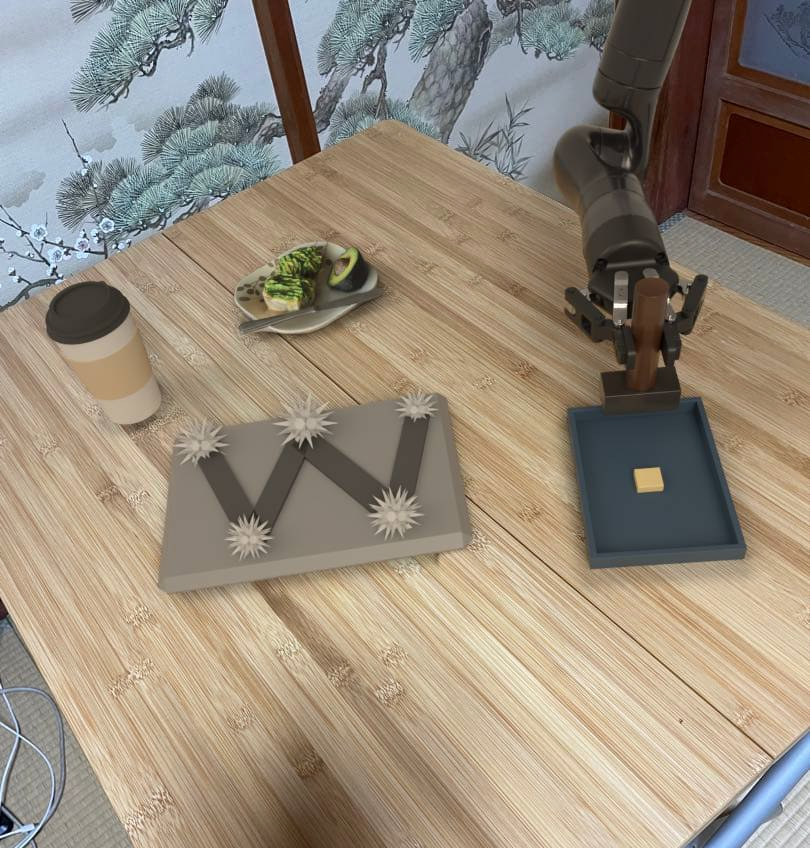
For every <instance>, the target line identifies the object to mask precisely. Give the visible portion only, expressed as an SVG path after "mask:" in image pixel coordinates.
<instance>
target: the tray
mask: <svg viewBox="0 0 810 848" xmlns="http://www.w3.org/2000/svg"><path fill="white" fill-rule="evenodd" d="M566 421H567V429H568V434H569V440H570V446H571V447H570V448H571V453H572V460H573V467H574V474H575V480H576V485H577V492H578V500H579V505H580V511H581V513H580V514H581V519H582V525H583V532H584V537H585V538H584V539H585V544H586V551H587V556H588V557H587V559H588V564H589V570H602V569H615V568H632V567H645V566H646V567H648V566H649V567H650V566H663V565H676V564H677V565H678V564H693V563H706V562H724V561H737V560H744V559H745V556H746V554H747V551H748V547H747V544H746V539H745V537H744V534H743V531H742V527H741V523H740V520H739V517H738V514H737V511H736V507H735V503H734V501H733V497H732V493H731V491H730V488H729V484H728V481H727V478H726V474H725V471H724V468H723V465H722V462H721V459H720V455H719V451H718V447H717V445H716V442H715V438H714V435H713V431H712V428H711V425H710V421H709V418H708V415H707V411H706V408H705V405H704V401H703V398H702V396H690V397H681V398H680V403H679V409H678V410H672V411H660V412H648V413H635V414H623V415H611V416H603V411H602V405H601V404H597V405H587V406H585V405H584V406H574V407H567V408H566ZM657 467H659V468H660V471H661V475H662V479H663V484H664V488H663V491H655V492H642V493H638V492H637V489H636V484H635V479H634V469H644V468H657Z"/></svg>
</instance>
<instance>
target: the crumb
mask: <svg viewBox="0 0 810 848" xmlns="http://www.w3.org/2000/svg"><path fill="white" fill-rule="evenodd" d="M634 479H635V484H636V489H637V492H638V493H642V492H655V491H663V488H664V484H663V479H662V475H661V471H660V468H659V467H657V468H644V469H634Z"/></svg>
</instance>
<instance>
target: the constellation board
mask: <svg viewBox="0 0 810 848" xmlns="http://www.w3.org/2000/svg"><path fill="white" fill-rule="evenodd" d="M421 388H422V387H421V386H420V387H419V390H418V392H417V395H416V394H415V392H414V389H413V388H411V392H410V391H409V390H405V392H406V395H407V396H403V395H401V394H399V398H393V399H392V398H391V399H387V400H380V401H375V402H368V403H367V402H366V403H361V404H356V405H350V406H349V405H348V406H344V407H343V406H342V407H337V408H331V409H325V408H326V406H327V405H328V404H329V402H330V400H328V401H327V402H325V403H323V404H322V405H320V406H319V407H317V408H316V406H317V401H318V398H319V394H316V396H315V398H314V399H313V398H311V395H312V390H310V391H309V393H308V396H307V399H306V401H305V403H304V401H303V399H302V397H301V395H300V392H299V391H297V397H298V398H296V399H297V401H296V400H295V398H294V397H293V395H292V394H291V393H290V397H291V400H292V405H293V408H292V407H290V406H288V405H287V404H285V403H283V402H282V401H279V403H280V404H281V406H282V407H284V409H285V410H286V411H287V412H288V413H283V412H278V411H275V412H274V413H275V414H277V415H278V416H280V417H275V418H268V419H263V420H255V421H251V422H245V423H238V424H231V425H225V426H224V425H221V426H219V427H213V424H214V420H215V419H210V422H208V423H207V417H204V420H203V423H202V425H201V427H200V424H199V422H198V420H197V418H196V416H195V415H193V416H194V424H193V422H192V421H191V420H187V419H186V421H187V425H188V427H189V430H190V431H189V430H188V429H186V428H184V427H182V426H181V425H179V426H178V425H177V427H178V428H179V430H180V431H182V433H179V434H177V435H174V438H175V439H174V440H173V444H172V445H171V447H172V454H171V463H170V473H169V481H168V490H167V500H166V508H165V516H164V526H163V535H162V544H161V552H160V554H161V555H160V562H159V570H158V578H157V587H158V588H159V589H160V590H162V591H163V592H164V593H165V594H166V595H177V594H181V593H188V592H195V591H202V590H207V589H213V588H219V587H220V588H221V587H225V586H233V585H239V584H247V583H253V582H260V581H266V580H272V579H278V578H286V577H291V576H299V575H305V574H310V573H317V572H325V571H330V570H331V571H332V570H337V569H344V568H351V567H357V566H363V565H369V564H375V563H382V562H388V561H395V560H401V559H408V558H415V557H420V556H421V557H422V556H428V555H433V554H434V555H435V554H439V553H441V554H442V553H447V552H453V551H459V550H460V551H461V550H465V549H466V548H467V546H468V545H469V544H470V543H471V542H472V541H473V539H474V536H473V530H472V525H471V519H470V513H469V509H468V505H467V504H468V503H467V499H466V493H465V489H464V483H463V477H462V472H461V467H460V461H459V456H458V452H457V446H456V440H455V436H454V435H455V434H454V430H453V425H452V419H451V415H450V409H449V403H448V399H447V397H446V396H445V395H442V394H440V393H439V392H437V391H436V392H430V393H429V392H428V393H426V392H427V390H423V392H422V393H421V390H422V389H421ZM312 399H313V401H312ZM324 409H325V410H324ZM194 425H195V426H194Z"/></svg>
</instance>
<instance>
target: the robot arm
mask: <svg viewBox="0 0 810 848" xmlns="http://www.w3.org/2000/svg"><path fill="white" fill-rule="evenodd" d="M692 1H693V0H618V3H617V5H616V8H615V12H614V15H613V18H612V21H611V25H610V27H609V30H608V33H607V36H606V40H605V43H604V46H603V50H602V53H601V57H600V60H599V63H598V66H597V69H596V72H595V76H594V79H593V82H592V89H591V92H592V93H591V94H592V97H593V99H594V101H595V102H596V103H597V105H599V106H600V107H601V108H603V109H605V110H607V111H608V112H611V113H613V114H615V115H618V116H619V117H621V118H623V119H625V120H626V124H625V127H624V129H622V130H621V129H616V128H609V127H604V126H597V125H592V124H584V123H583V124H576V125H573V126H571V127H569V128H568V129H567V130H565V131H564V132H563V133H562V134H561V136H560V137H559V138H558V140H557V142H556V145H555V148H554V150H553V154H552V173H553V178H554V182H555V185H556V187H557V189H558V191H559V193H560V194H561V196H562V197H563V198H564V200H565V201H566V202H567V203H568V205H569V207H571V209H572V210H573V212H574V213H575V214H576V215H577V216H578V218H579V223H580V228H581V245H582V256H583V260H585V265H586V269H587V275H588V279H589V280H588V282H587V287H585V288H583V289H580V290H579V288H577V287H575V286H568V287H566V288H565V289H564V301H563V302H564V303H563V305H564V307H563V313H564V315H565V316H567V318H568V319H569V320H570V321H571V322H572V323H573V324H574V325H575V326H576V327H577V328H578V329H579V330H580V331H581V333H583V334H584V335H585V336H586V337H587V338H588V339H589V340H590V341H591V342H592V343H594V344H600V343H602V342H604V341H609V342H610V343H611V344H612V346H613V351H614V355H615V360H616V363H617V364H618V365H619V366H624V370H633V369H634V368H635V359H636V349H635V345H634V341H633V336H632V332H631V324H628V325H627V323H628V320H632V311H633V302H634V293H635V285H636V284H637V282H638V281H640V280H642V279H644V278H649V277H656V278H660V279H663V280H665V281H666V282H667V283H668V284H669V295H668V301H667V308H666V315H665V322H664V329H663V336H662V343H661V349H660V354H661V357H662V361H663V365H664V367H668V366H675V362H676V361H679V360H680V358H681V354H682V353H681V352H682V347H683V342H682V338H681V335H682V336H689V335H691V334H692V333H693V330H694V327H695V325H696V322H697V320H698V317H699V315H700V312H701V310H702V307H703V306H704V303H705V298H706V293H707V289H708V283H709V276H708V275H706V274H703V273H699V274H697V275H695V276H694V279H693V280H691V279H685V278H680V276H679V274H678V272H677V271H676V270H674V269H672V267H671V266H670V265H671V264H670V260H669V256H668V253H667V250H666V247H665V243H664V240H663V237H662V234H661V230H660V228H659V227H660V226H659V224H658V221H657V218H656V216H655V214H654V212H653V210H652V208H651V207H650V203H649V201H648V198H647V194H646V191H645V189H644V186H643V185H644V184H645V182H646V180H647V177H648V174H649V170H650V169H649V168H650V161H651V149H652V138H653V130H654V122H655V118H656V112H657V107H658V103H659V99H660V95H661V92H662V89H663V86H664V84H665V81H666V79H667V75H668V73H669V71H670V68H671V65H672V62H673V60H674V57H675V54H676V52H677V49H678V47H679V46H678V45H679V42H680V40H681V37H682V33H683V31H684V28H685V24H686V21H687V18H688V15H689V12H690V8H691V4H692ZM676 294H679V295H680V300H681V301H682V302H683V304H682V307H681V310H680V311H677V312H676V311H675V309H674V308H673V306H672V305H671V300H672V299H673V298H674V296H675V295H676ZM600 309H601V310H602V311H604V312H606V313H607V314H609V315H610V316H611V318H606V315H605V314H604V313H603V312H602V311H601V310H600Z"/></svg>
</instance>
